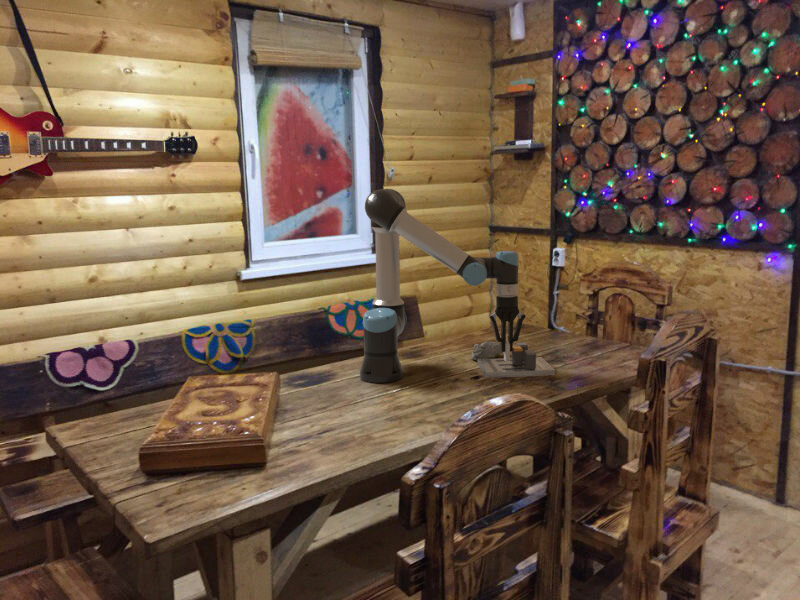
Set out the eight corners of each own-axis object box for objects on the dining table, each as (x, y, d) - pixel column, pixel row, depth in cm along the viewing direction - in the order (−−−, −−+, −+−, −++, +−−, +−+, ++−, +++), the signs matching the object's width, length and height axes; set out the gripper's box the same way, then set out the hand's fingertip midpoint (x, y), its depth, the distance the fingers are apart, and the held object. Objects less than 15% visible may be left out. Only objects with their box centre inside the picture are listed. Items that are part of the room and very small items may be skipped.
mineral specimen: (496, 353, 257) (496, 336, 256) (507, 357, 251) (508, 340, 250) (464, 359, 249) (464, 342, 248) (475, 363, 243) (475, 346, 242)
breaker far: (519, 360, 237) (519, 345, 236) (517, 357, 240) (517, 342, 239) (527, 360, 237) (527, 344, 236) (525, 357, 240) (525, 342, 239)
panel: (486, 378, 224) (486, 372, 224) (477, 364, 241) (477, 359, 241) (555, 375, 226) (555, 369, 225) (541, 362, 242) (541, 356, 242)
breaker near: (527, 369, 226) (527, 352, 225) (524, 366, 230) (524, 350, 228) (535, 368, 226) (536, 352, 225) (533, 365, 230) (533, 349, 229)
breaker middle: (513, 365, 231) (514, 349, 230) (511, 362, 235) (511, 346, 234) (522, 364, 231) (522, 348, 230) (519, 362, 235) (519, 346, 234)
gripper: (490, 297, 224) (491, 364, 228) (528, 296, 225) (527, 362, 229) (486, 294, 232) (486, 358, 236) (522, 292, 232) (522, 356, 237)
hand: (506, 360), depth 232 cm, fingers closed
